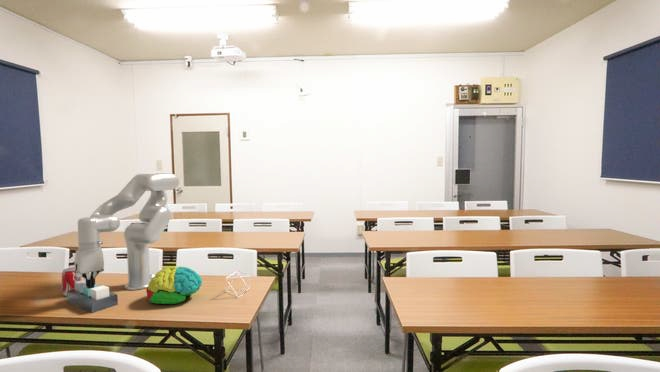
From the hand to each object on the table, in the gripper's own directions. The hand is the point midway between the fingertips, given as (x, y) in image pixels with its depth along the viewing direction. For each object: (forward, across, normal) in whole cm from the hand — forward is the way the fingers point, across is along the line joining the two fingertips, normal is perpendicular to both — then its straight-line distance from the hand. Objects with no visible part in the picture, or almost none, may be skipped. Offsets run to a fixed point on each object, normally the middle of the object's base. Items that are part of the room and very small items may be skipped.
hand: (90, 287), depth 151 cm
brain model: (+7, -22, +27) cm, 36 cm away
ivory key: (+4, 0, +7) cm, 8 cm away
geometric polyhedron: (+7, -42, +46) cm, 63 cm away
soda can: (+7, 0, -20) cm, 21 cm away
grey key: (+4, 0, -8) cm, 9 cm away
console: (+7, 0, 0) cm, 7 cm away
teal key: (+5, 0, 0) cm, 5 cm away
